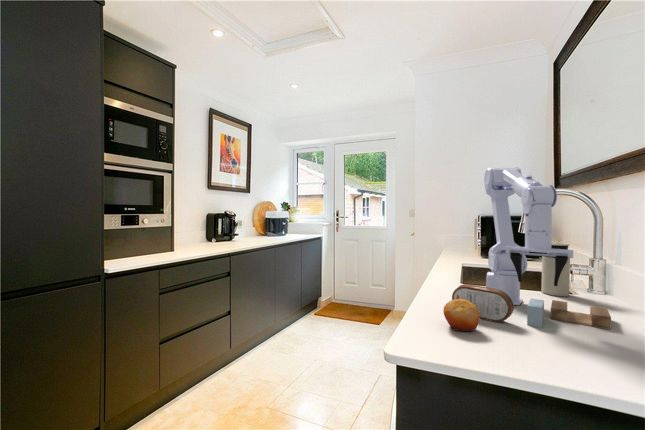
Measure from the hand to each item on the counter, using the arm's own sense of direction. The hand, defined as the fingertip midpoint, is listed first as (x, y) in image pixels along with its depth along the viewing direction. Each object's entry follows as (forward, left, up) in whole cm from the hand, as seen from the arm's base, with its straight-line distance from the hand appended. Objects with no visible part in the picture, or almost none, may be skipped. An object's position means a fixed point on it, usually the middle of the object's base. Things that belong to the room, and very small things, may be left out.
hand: (537, 283), depth 83 cm
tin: (-12, -6, -10) cm, 17 cm away
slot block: (+9, +10, -10) cm, 17 cm away
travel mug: (+3, +39, -10) cm, 40 cm away
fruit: (-14, -18, -10) cm, 25 cm away
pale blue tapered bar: (0, 0, -10) cm, 10 cm away
